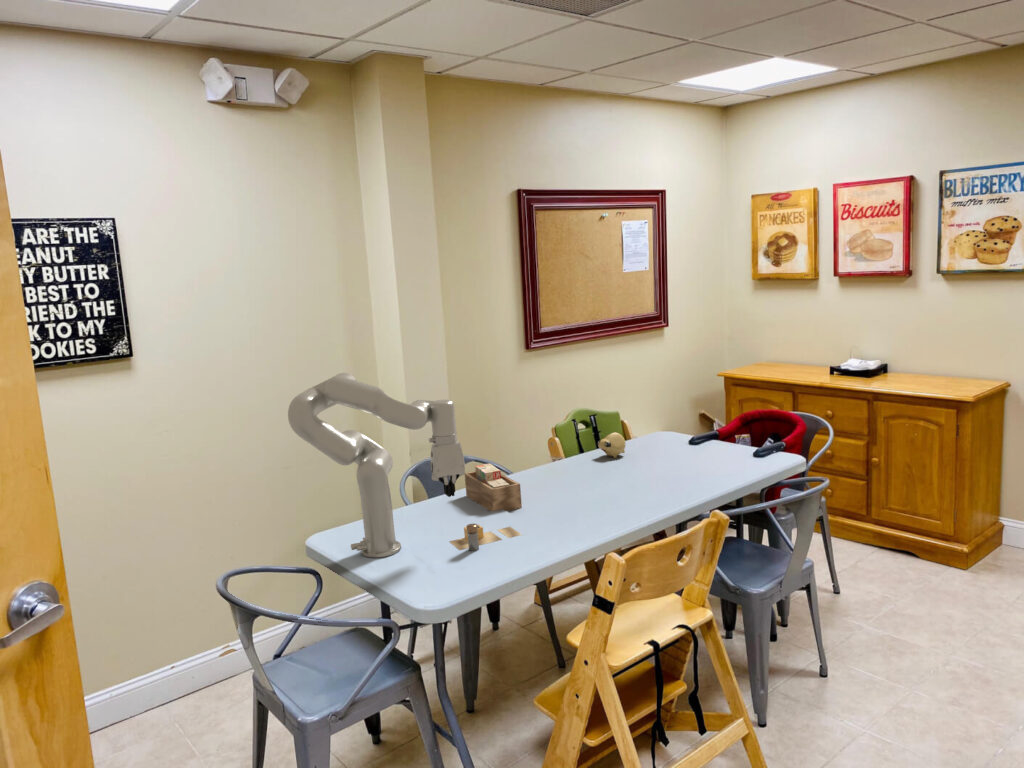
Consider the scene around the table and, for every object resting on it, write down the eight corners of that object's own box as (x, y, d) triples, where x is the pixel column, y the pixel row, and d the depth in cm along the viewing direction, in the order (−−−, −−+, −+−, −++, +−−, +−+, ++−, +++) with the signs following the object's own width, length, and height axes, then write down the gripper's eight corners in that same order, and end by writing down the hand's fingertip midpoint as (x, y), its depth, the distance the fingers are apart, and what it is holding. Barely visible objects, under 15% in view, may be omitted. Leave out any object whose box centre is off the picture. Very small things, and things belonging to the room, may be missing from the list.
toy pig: (594, 456, 337) (593, 433, 335) (616, 451, 342) (615, 428, 341) (608, 461, 328) (607, 437, 326) (630, 456, 334) (629, 432, 332)
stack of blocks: (511, 508, 276) (509, 476, 274) (495, 511, 274) (492, 479, 272) (492, 493, 296) (490, 462, 294) (477, 495, 294) (474, 465, 292)
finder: (469, 541, 244) (468, 530, 243) (464, 537, 247) (463, 526, 247) (483, 537, 246) (482, 526, 245) (478, 534, 249) (477, 523, 249)
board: (459, 553, 237) (459, 550, 237) (449, 544, 245) (449, 541, 245) (522, 538, 247) (522, 534, 246) (510, 530, 255) (510, 526, 254)
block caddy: (494, 513, 272) (492, 489, 270) (466, 495, 295) (464, 473, 293) (521, 507, 276) (520, 483, 275) (492, 490, 299) (490, 468, 298)
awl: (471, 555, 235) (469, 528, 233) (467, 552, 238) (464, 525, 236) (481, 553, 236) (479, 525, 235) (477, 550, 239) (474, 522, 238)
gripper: (426, 445, 231) (431, 503, 234) (471, 437, 238) (476, 493, 241) (418, 441, 238) (423, 497, 241) (462, 433, 244) (467, 487, 248)
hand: (450, 495), depth 241 cm, fingers closed
